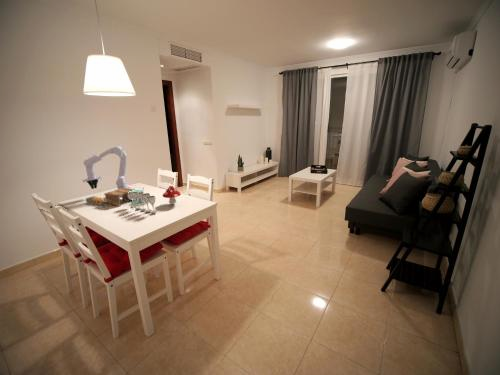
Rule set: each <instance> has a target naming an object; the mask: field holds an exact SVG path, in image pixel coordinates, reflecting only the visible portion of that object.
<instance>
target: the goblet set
mask: <svg viewBox="0 0 500 375" xmlns="http://www.w3.org/2000/svg"><path fill="white" fill-rule="evenodd" d="M128 198H129V199H130V200H129V201H131V200H132V201H131V203H132V206H131V207H130V209H135V210H140V211H144V212H145V213H150V214H155V213H158V211H157V210H155V209H154V205H155V203H156V196H155V195H151V194H150V193H147V192H145V193H144V192H139V191H135V192H129V193H128ZM134 199H136V201H135V202H136V203H137V205H134V201H133V200H134ZM139 201H140V202H141V206H142V207H144V203H146V205H147V208H142V207H140V206H138V205H139ZM149 204H150V205H151V206H152V209H149Z"/></svg>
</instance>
